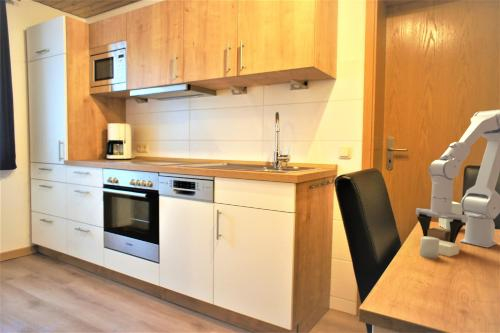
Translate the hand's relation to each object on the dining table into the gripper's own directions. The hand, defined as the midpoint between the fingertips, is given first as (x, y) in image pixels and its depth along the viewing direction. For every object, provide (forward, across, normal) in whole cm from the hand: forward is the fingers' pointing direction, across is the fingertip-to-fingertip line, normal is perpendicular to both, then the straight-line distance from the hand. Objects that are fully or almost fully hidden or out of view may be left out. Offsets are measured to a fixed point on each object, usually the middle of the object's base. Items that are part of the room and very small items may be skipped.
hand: (438, 240), depth 103 cm
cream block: (+2, +4, -7) cm, 8 cm away
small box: (+2, -9, +33) cm, 34 cm away
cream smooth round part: (+2, +4, -15) cm, 15 cm away
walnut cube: (+2, 0, 0) cm, 2 cm away
